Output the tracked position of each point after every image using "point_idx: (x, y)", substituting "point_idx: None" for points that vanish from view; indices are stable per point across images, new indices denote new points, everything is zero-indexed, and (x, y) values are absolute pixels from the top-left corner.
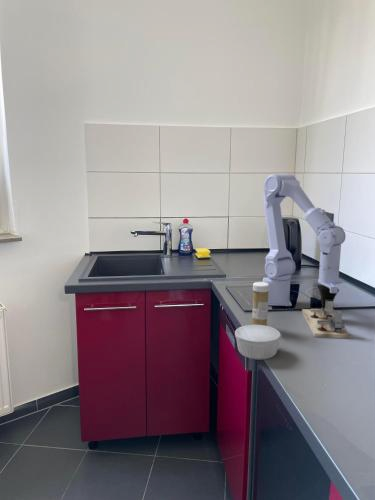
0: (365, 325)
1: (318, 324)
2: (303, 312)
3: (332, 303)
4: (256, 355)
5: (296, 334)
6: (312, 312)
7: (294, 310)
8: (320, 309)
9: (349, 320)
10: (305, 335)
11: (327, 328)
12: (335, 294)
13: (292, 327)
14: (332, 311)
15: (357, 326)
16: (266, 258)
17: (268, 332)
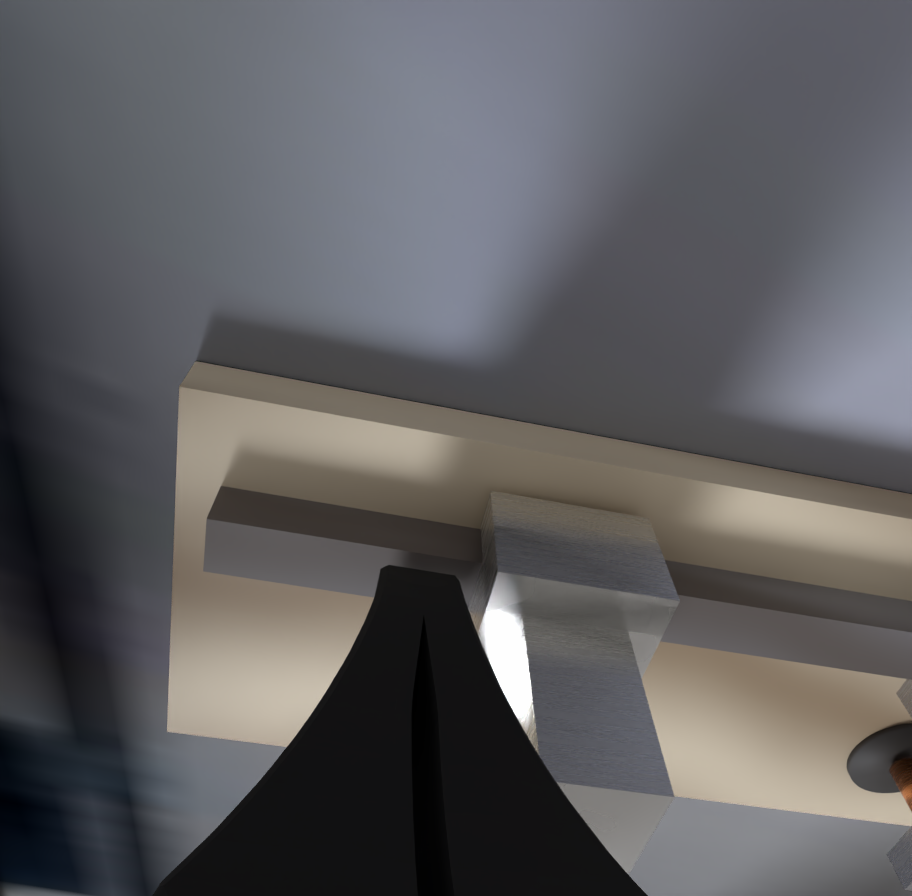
0: (908, 11)
1: (745, 738)
2: (275, 733)
3: (659, 759)
4: None
5: (813, 885)
6: (311, 669)
7: (124, 746)
8: None
9: (589, 200)
10: (864, 842)
11: (898, 701)
12: (613, 877)
13: (648, 873)
14: (657, 640)
15: (885, 206)
16: None
17: None
